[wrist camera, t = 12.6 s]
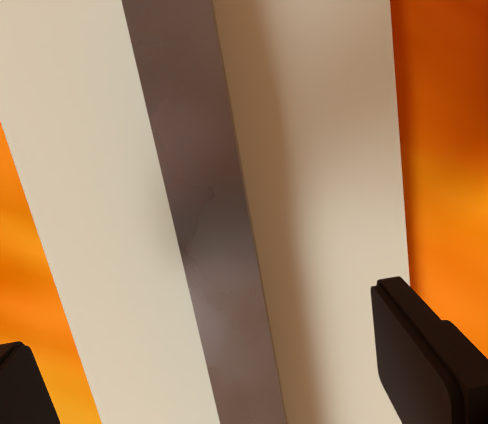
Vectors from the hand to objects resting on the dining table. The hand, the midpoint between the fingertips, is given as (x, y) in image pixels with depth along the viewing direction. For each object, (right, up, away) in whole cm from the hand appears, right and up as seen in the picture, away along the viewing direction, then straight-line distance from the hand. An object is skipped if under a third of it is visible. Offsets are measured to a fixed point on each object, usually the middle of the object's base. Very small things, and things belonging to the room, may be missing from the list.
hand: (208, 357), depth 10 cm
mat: (+1, +1, +6) cm, 6 cm away
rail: (+1, +1, +5) cm, 5 cm away
